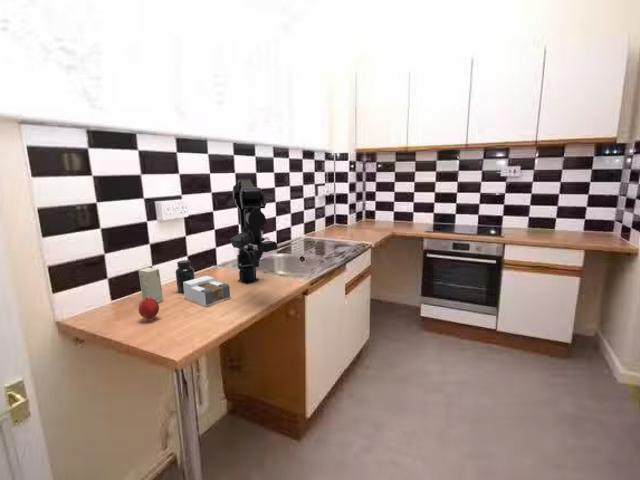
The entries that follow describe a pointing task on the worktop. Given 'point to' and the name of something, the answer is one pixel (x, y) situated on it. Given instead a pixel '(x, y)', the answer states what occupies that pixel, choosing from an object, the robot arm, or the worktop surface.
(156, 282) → the skincare box
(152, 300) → the onion
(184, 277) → the supplement bottle
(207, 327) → the worktop surface
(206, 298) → the sleeve
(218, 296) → the peg
